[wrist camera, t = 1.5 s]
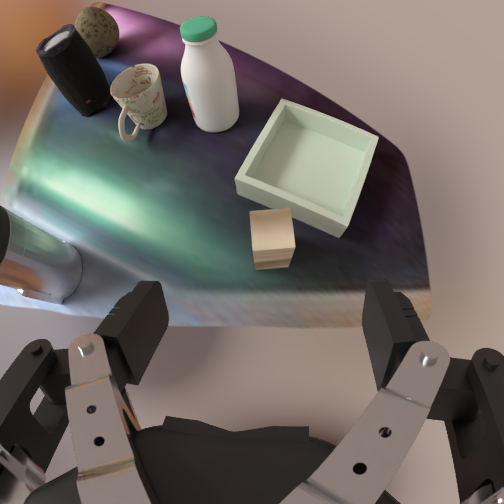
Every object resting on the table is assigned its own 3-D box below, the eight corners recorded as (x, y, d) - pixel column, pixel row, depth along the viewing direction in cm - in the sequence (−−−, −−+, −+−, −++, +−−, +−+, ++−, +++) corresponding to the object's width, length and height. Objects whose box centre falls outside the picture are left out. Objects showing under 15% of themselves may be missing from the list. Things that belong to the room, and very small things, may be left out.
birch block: (288, 267, 42) (295, 247, 33) (255, 270, 42) (252, 251, 33) (284, 235, 44) (290, 207, 34) (252, 238, 44) (249, 211, 34)
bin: (339, 238, 43) (347, 226, 38) (237, 194, 45) (234, 178, 41) (369, 154, 46) (378, 137, 42) (280, 117, 49) (281, 98, 44)
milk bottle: (248, 109, 49) (240, 15, 30) (223, 140, 48) (203, 45, 29) (211, 95, 51) (192, 6, 31) (186, 124, 49) (154, 35, 30)
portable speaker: (110, 114, 51) (66, 44, 32) (72, 122, 51) (24, 62, 33) (120, 84, 53) (85, 16, 34) (83, 92, 54) (44, 32, 35)
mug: (179, 100, 51) (166, 62, 41) (157, 156, 48) (136, 120, 38) (140, 100, 52) (122, 65, 42) (115, 154, 48) (90, 121, 39)
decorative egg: (132, 37, 58) (114, -8, 44) (115, 64, 55) (92, 17, 41) (97, 43, 59) (77, 3, 44) (79, 70, 56) (54, 28, 42)
